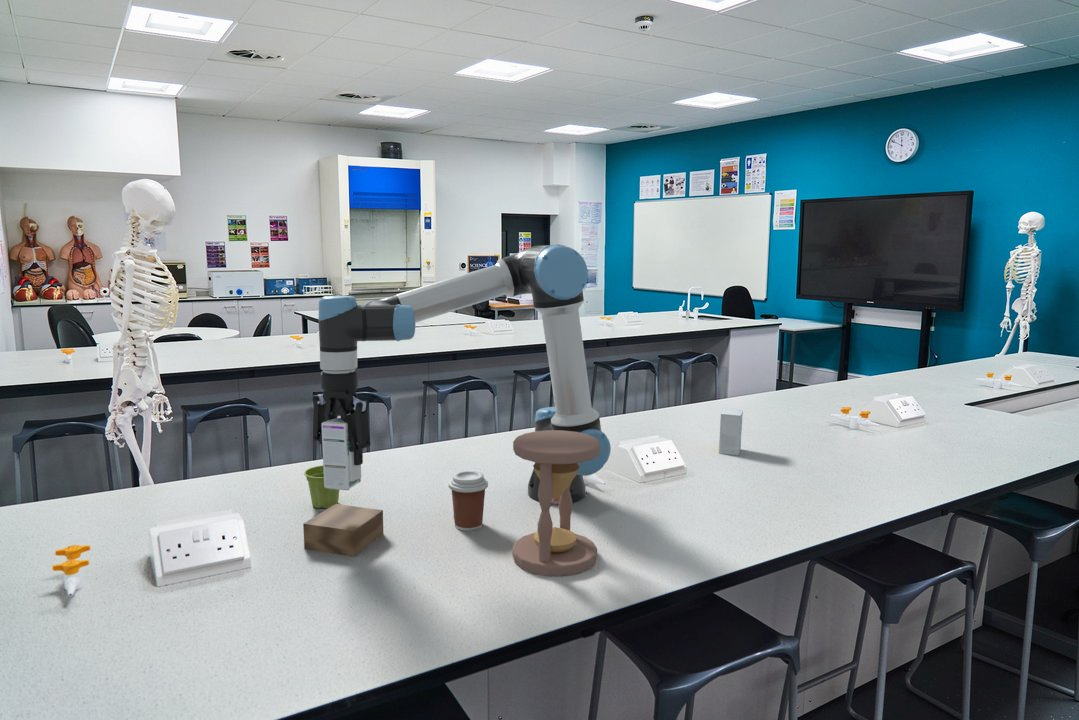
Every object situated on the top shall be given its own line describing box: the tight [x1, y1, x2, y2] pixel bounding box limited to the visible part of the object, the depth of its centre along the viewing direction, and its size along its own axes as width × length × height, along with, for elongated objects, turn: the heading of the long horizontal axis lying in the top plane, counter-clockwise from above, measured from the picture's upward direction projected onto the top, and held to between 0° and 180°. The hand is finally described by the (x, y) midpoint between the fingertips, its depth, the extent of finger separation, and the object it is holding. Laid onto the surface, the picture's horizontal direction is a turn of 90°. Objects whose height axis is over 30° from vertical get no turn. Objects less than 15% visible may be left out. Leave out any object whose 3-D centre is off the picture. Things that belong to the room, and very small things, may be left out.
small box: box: [718, 408, 744, 456], centre depth 222 cm, size 8×6×13 cm
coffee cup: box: [448, 470, 489, 532], centre depth 160 cm, size 9×9×12 cm
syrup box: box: [321, 415, 362, 491], centre depth 148 cm, size 6×6×14 cm
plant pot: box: [303, 464, 340, 509], centre depth 172 cm, size 9×9×9 cm
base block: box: [302, 503, 384, 558], centre depth 150 cm, size 12×12×6 cm
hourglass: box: [511, 430, 600, 577], centre depth 142 cm, size 18×18×25 cm
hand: (342, 476), depth 148 cm, fingers closed on syrup box, 7 cm apart
